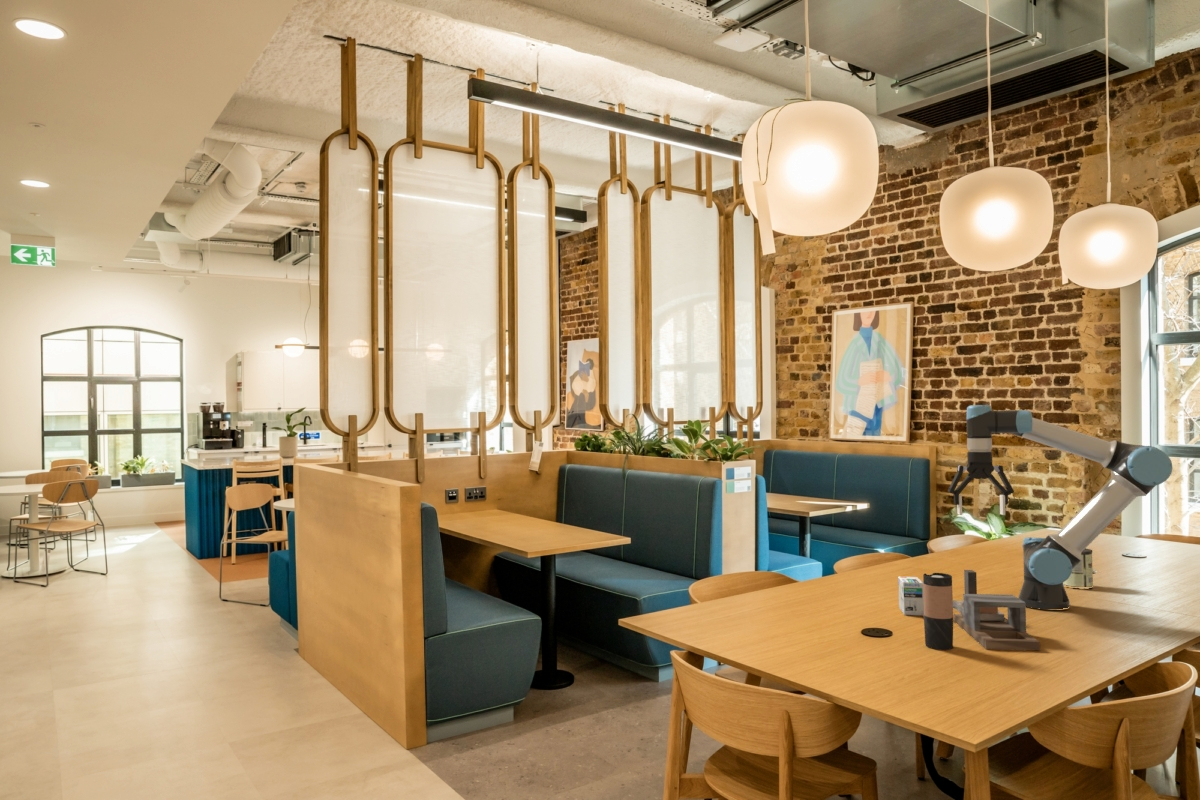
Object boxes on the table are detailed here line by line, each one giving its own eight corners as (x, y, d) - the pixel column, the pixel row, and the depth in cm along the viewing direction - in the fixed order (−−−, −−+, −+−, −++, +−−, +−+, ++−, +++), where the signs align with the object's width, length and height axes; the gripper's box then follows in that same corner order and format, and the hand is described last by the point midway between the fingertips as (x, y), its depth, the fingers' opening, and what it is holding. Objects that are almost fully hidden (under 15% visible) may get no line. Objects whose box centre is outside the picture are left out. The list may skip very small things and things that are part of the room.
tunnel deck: (954, 621, 248) (953, 586, 248) (1001, 623, 246) (1000, 587, 246) (985, 649, 218) (985, 609, 219) (1039, 650, 216) (1038, 610, 217)
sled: (952, 606, 256) (952, 569, 256) (985, 607, 254) (984, 570, 254) (969, 620, 239) (968, 580, 239) (1004, 621, 237) (1003, 581, 238)
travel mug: (951, 651, 216) (950, 578, 217) (922, 647, 220) (920, 576, 221) (955, 644, 223) (954, 574, 223) (926, 641, 227) (925, 571, 227)
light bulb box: (925, 616, 255) (924, 582, 255) (903, 615, 256) (903, 582, 257) (919, 608, 266) (918, 576, 266) (898, 607, 267) (897, 575, 267)
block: (991, 616, 245) (990, 599, 245) (998, 621, 239) (997, 604, 239) (967, 615, 246) (967, 599, 246) (973, 620, 240) (973, 603, 240)
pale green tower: (1061, 583, 302) (1060, 546, 303) (1093, 585, 297) (1092, 548, 297) (1060, 588, 294) (1059, 550, 294) (1093, 591, 288) (1092, 552, 288)
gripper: (1014, 450, 265) (1016, 513, 265) (937, 450, 269) (938, 513, 268) (1023, 451, 258) (1025, 516, 258) (943, 451, 262) (945, 515, 261)
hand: (981, 514), depth 263 cm, fingers open, 13 cm apart
